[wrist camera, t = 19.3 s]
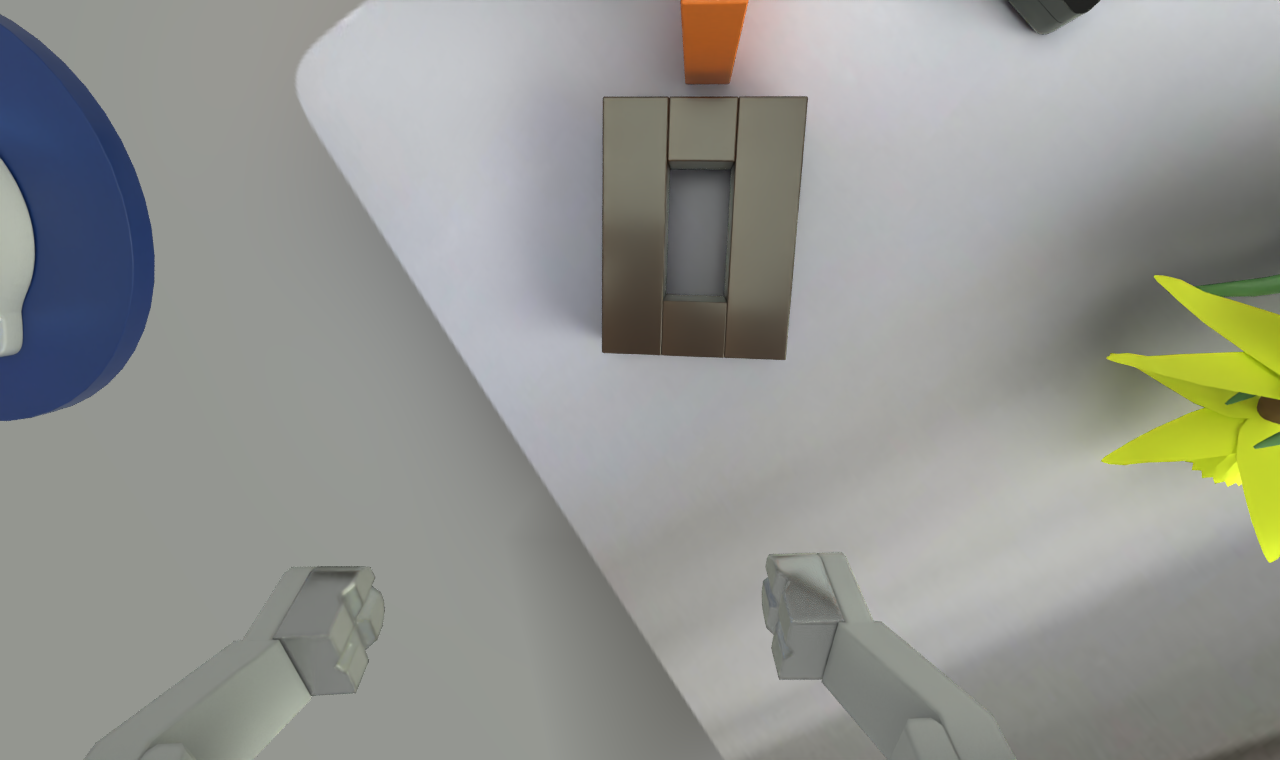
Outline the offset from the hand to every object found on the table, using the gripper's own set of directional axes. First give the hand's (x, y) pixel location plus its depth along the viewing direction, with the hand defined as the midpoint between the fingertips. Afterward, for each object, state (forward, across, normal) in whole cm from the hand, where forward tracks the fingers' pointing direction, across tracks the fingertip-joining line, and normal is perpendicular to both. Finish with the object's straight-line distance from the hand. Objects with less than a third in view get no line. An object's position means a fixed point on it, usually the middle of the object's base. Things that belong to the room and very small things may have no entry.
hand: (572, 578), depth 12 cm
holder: (+24, -5, 0) cm, 25 cm away
